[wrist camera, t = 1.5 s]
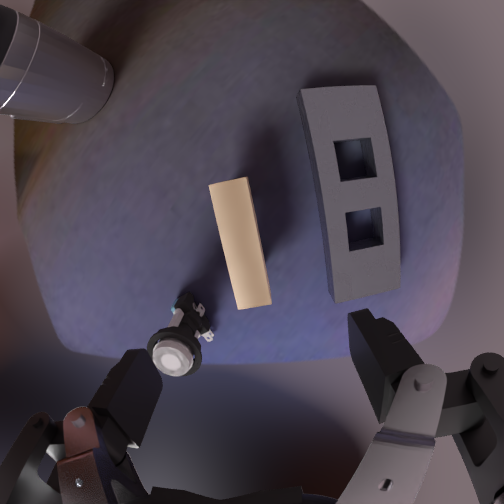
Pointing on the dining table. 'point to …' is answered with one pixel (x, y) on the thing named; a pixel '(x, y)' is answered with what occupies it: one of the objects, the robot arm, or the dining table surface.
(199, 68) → the dining table surface
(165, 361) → the push button
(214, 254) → the dining table surface
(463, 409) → the robot arm
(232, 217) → the wooden peg block
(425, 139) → the dining table surface
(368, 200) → the grey block with holes
